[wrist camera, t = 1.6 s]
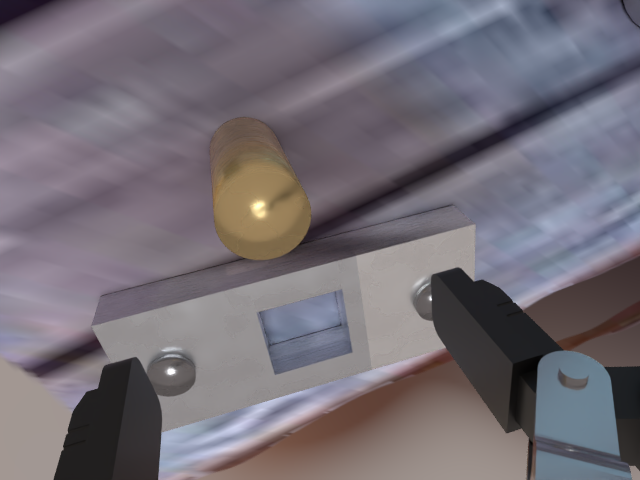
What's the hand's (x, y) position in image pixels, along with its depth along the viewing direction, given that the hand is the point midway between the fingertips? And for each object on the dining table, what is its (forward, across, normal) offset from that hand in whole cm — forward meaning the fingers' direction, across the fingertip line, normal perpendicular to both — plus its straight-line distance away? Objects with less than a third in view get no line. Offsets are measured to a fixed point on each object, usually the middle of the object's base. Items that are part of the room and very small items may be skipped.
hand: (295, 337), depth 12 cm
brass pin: (+17, 0, 0) cm, 17 cm away
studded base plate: (+17, -1, +12) cm, 21 cm away
